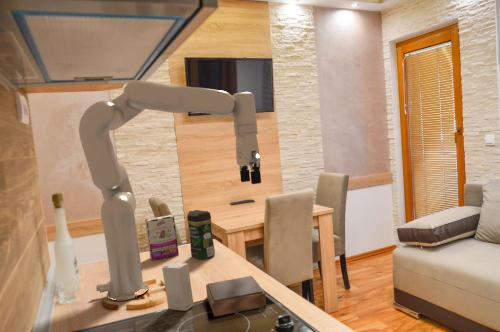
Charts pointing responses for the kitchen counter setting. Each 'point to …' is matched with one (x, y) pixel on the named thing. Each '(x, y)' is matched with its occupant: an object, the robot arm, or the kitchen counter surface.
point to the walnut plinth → (235, 295)
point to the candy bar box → (161, 237)
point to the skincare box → (178, 286)
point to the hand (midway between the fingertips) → (250, 182)
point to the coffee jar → (200, 234)
